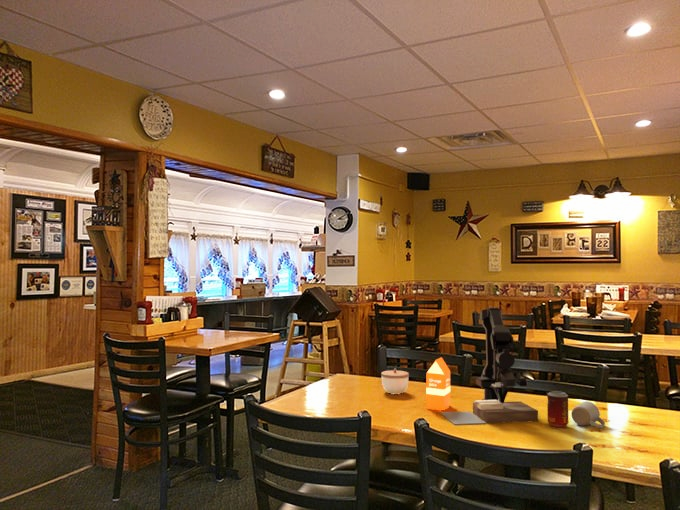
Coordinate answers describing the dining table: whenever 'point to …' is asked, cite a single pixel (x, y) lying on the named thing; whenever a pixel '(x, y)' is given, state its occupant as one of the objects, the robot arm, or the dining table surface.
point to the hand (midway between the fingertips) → (501, 403)
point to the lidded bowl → (395, 381)
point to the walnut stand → (508, 413)
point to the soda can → (557, 409)
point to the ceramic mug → (587, 415)
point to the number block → (488, 404)
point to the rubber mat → (462, 418)
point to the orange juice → (438, 386)
